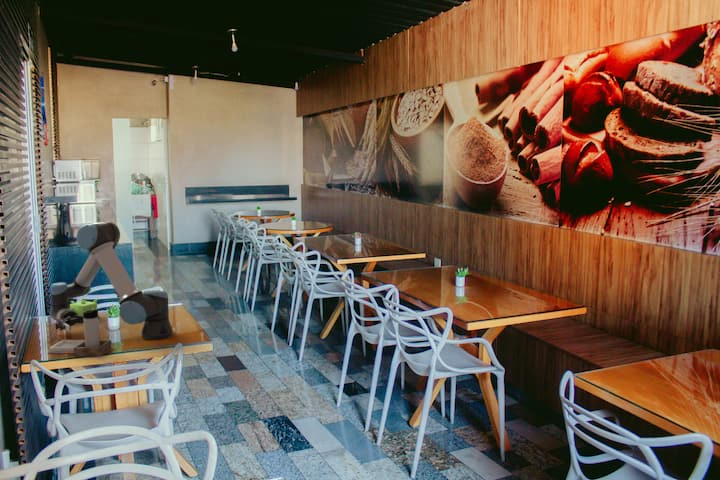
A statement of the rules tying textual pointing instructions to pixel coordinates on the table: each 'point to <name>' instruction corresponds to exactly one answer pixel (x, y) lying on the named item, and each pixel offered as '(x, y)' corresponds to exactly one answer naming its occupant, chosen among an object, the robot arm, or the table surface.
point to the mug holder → (92, 349)
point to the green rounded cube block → (83, 306)
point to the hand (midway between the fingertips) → (84, 325)
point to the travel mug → (91, 328)
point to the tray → (65, 346)
